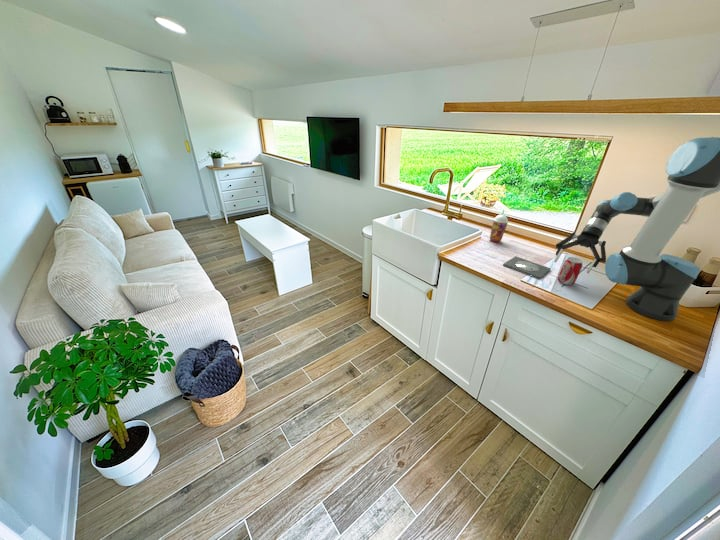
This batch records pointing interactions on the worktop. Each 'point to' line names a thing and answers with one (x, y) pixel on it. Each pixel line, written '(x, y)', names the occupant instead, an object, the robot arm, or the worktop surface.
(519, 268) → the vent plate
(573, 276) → the soda can
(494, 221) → the smoothie
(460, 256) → the worktop surface
